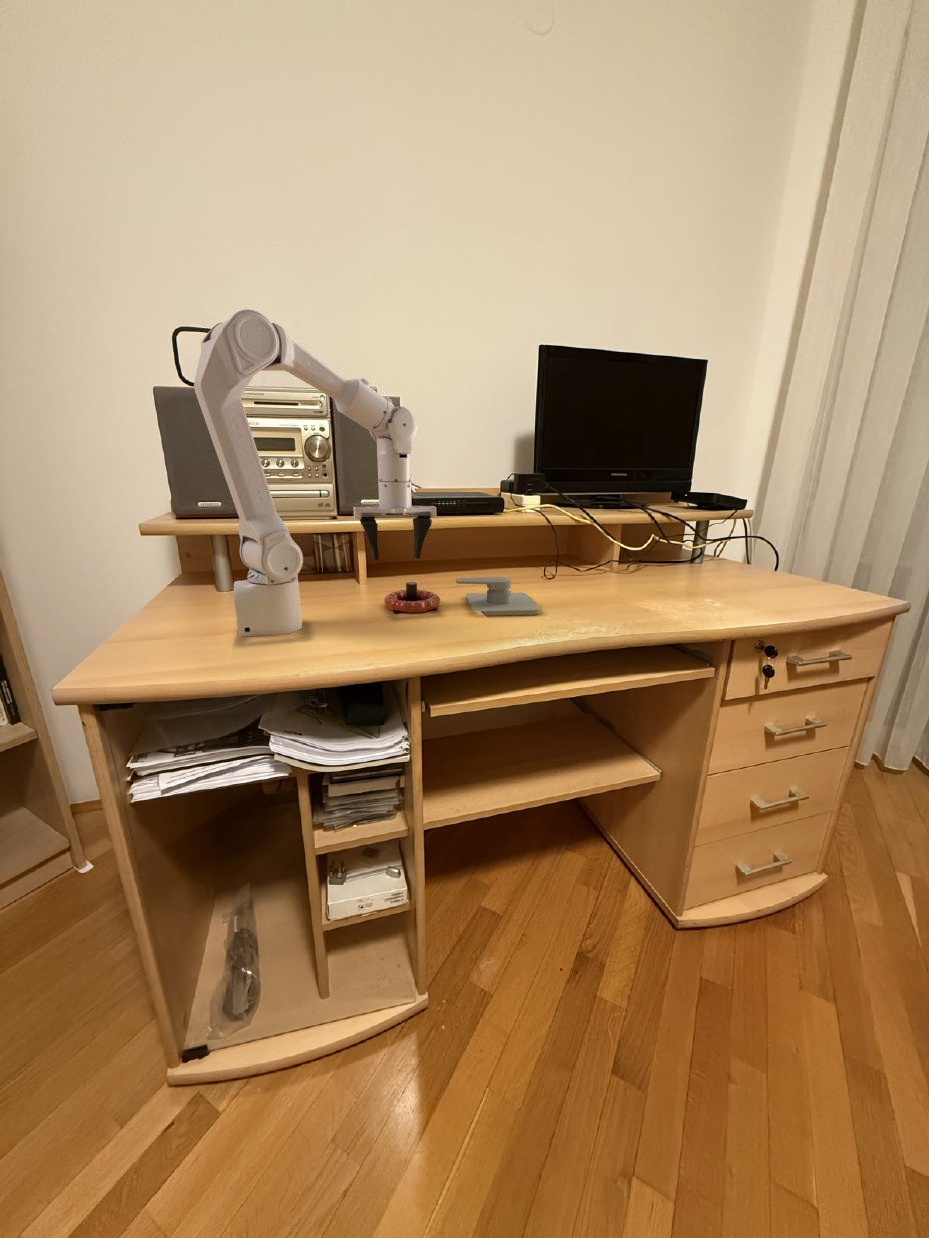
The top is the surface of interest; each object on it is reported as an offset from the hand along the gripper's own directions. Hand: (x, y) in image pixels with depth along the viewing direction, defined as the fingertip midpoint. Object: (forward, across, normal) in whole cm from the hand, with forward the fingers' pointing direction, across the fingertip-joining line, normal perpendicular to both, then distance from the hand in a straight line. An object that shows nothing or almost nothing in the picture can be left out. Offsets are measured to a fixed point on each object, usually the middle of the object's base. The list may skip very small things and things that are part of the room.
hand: (396, 558), depth 90 cm
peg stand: (+9, +2, -3) cm, 10 cm away
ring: (+7, +2, -3) cm, 8 cm away
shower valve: (+10, +18, -4) cm, 21 cm away
